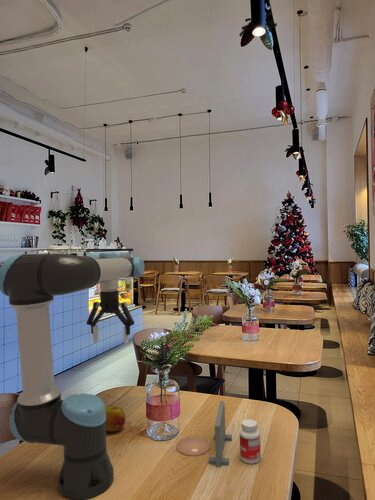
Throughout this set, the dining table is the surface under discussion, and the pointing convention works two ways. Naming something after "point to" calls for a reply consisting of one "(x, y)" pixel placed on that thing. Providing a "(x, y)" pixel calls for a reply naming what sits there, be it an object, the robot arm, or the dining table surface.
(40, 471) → the dining table surface
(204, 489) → the dining table surface
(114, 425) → the fruit
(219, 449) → the screen
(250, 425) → the pill bottle
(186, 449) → the coaster
